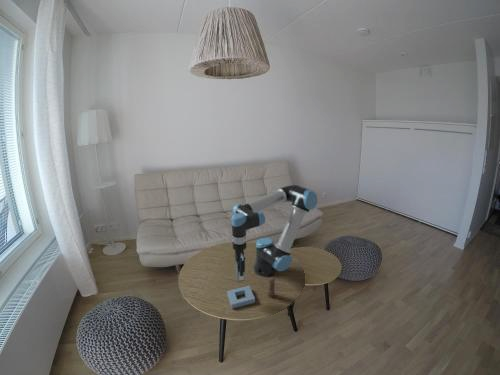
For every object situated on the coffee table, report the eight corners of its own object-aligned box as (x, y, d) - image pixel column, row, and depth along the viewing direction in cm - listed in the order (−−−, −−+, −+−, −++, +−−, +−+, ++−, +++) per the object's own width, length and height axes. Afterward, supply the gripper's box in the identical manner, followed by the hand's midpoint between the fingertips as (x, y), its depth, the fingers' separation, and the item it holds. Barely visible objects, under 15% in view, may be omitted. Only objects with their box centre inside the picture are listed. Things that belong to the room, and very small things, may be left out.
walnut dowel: (272, 293, 145) (273, 276, 142) (275, 297, 142) (275, 280, 138) (267, 294, 144) (267, 278, 140) (269, 298, 141) (270, 282, 137)
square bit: (242, 276, 139) (242, 258, 135) (244, 280, 135) (244, 263, 132) (235, 277, 138) (235, 260, 134) (237, 282, 134) (237, 264, 130)
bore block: (249, 289, 148) (249, 285, 147) (255, 302, 138) (255, 298, 137) (227, 294, 144) (227, 290, 143) (231, 308, 134) (231, 304, 133)
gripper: (229, 234, 135) (230, 269, 143) (236, 251, 120) (237, 288, 127) (241, 232, 137) (242, 266, 145) (250, 248, 122) (251, 285, 129)
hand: (240, 276), depth 136 cm, fingers closed on square bit, 4 cm apart
